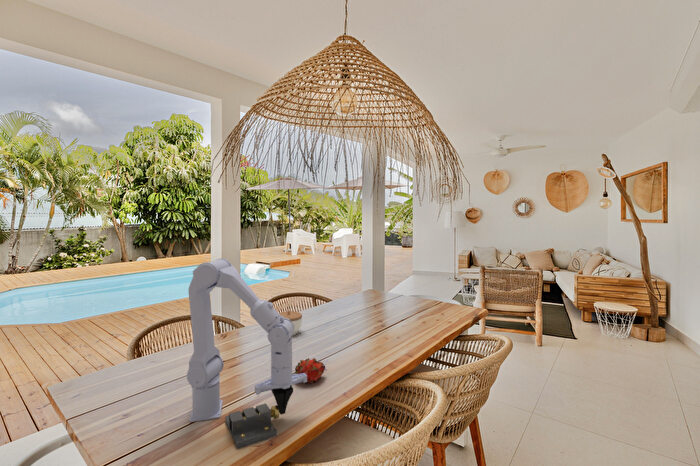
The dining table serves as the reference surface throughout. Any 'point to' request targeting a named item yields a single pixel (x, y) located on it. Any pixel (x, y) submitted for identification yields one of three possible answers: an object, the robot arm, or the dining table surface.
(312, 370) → the dragon fruit
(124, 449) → the dining table surface
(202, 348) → the robot arm
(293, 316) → the lidded bowl
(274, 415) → the pin
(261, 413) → the hinge leaves
